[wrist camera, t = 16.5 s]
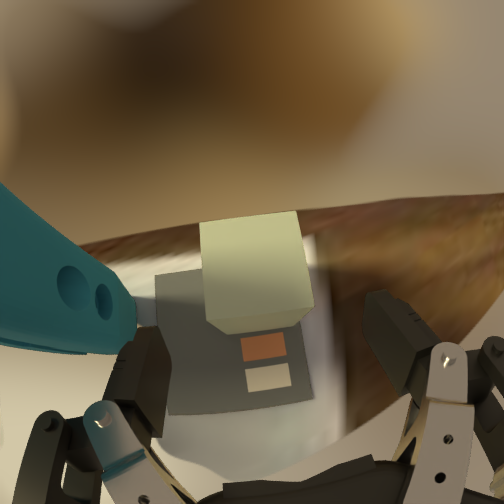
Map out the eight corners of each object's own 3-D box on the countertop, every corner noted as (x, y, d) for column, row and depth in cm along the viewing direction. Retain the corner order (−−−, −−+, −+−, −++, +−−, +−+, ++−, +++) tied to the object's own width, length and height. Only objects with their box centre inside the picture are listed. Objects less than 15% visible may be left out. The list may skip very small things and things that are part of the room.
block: (154, 291, 22) (-46, 114, 3) (158, 352, 20) (-108, 281, 1) (49, 303, 22) (-116, 212, 3) (49, 353, 20) (-133, 298, 1)
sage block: (227, 334, 20) (206, 320, 12) (220, 271, 22) (199, 222, 14) (293, 326, 20) (314, 306, 12) (283, 263, 22) (295, 211, 14)
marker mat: (169, 414, 18) (168, 415, 18) (155, 275, 22) (154, 275, 22) (312, 398, 18) (312, 399, 18) (286, 257, 23) (287, 256, 22)
